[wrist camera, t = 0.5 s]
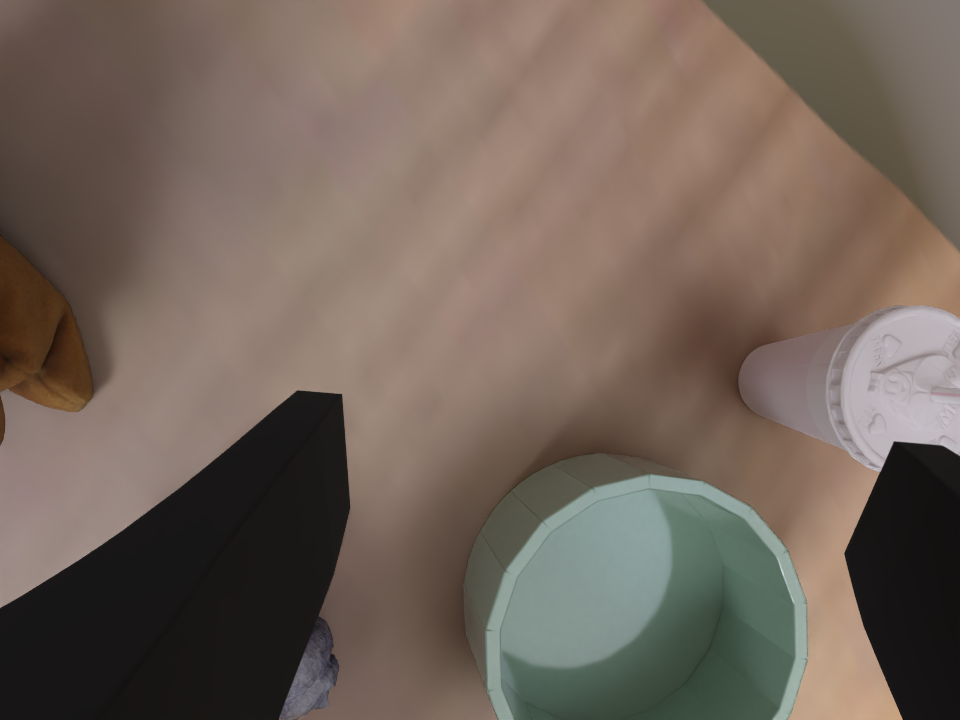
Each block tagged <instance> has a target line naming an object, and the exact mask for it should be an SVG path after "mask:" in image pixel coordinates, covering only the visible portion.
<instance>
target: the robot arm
mask: <svg viewBox="0 0 960 720" xmlns="http://www.w3.org/2000/svg"><path fill="white" fill-rule="evenodd" d="M349 511H350V497H349V483H348V469H347V456H346V442H345V428H344V414H343V401H342V394H333V393H321V392H309V391H298V390H297V391H296V392H295V393H294V394H293V395H291V396H290V397H289V398H288V399H287V400H285V401H284V402H283V403H282V404H280V405H279V406H278V407H277V408H276V409H274V410H273V411H272V412H271V413H270V414H268V415H267V416H266V417H265V418H264V419H263V420H261V421H260V422H259V423H258V424H257V425H256V426H254V427H253V428H252V429H251V430H250V431H249V432H247V433H246V434H245V435H244V436H243V437H241V438H240V439H239V440H238V441H237V442H236V443H234V444H233V445H232V446H231V447H230V448H228V449H227V450H226V451H225V452H224V453H222V454H221V455H220V456H219V457H218V458H216V459H215V460H214V461H213V462H211V463H210V464H209V465H208V466H206V467H205V468H204V469H203V470H202V471H200V472H199V473H198V474H197V475H195V476H194V477H193V478H192V479H190V480H189V481H188V482H187V483H186V484H184V485H183V486H182V487H181V488H179V489H178V490H177V491H175V492H174V493H173V494H171V495H170V496H169V497H167V498H166V499H164V500H163V501H162V502H160V503H159V504H158V505H156V506H155V507H154V508H152V509H151V510H150V511H148V512H147V513H146V514H144V515H143V516H142V517H140V518H139V519H138V520H136V521H135V522H133V523H132V524H131V525H129V526H128V527H127V528H125V529H124V530H123V531H121V532H120V533H119V534H117V535H116V536H114V537H113V538H111V539H110V540H108V541H107V542H105V543H104V544H103V545H101V546H100V547H98V548H97V549H95V550H94V551H92V552H91V553H89V554H88V555H86V556H85V557H83V558H82V559H80V560H79V561H77V562H75V563H74V564H72V565H71V566H69V567H67V568H66V569H64V570H63V571H61V572H59V573H58V574H56V575H55V576H53V577H51V578H50V579H48V580H47V581H45V582H43V583H42V584H40V585H39V586H37V587H35V588H34V589H32V590H31V591H29V592H27V593H26V594H24V595H22V596H21V597H19V598H17V599H16V600H14V601H12V602H10V603H9V604H7V605H5V606H3V607H1V608H0V720H279V717H280V714H281V712H282V709H283V707H284V704H285V701H286V699H287V696H288V693H289V691H290V688H291V686H292V683H293V680H294V678H295V675H296V673H297V670H298V667H299V665H300V662H301V660H302V657H303V654H304V652H305V649H306V647H307V644H308V641H309V639H310V636H311V634H312V631H313V628H314V626H315V623H316V620H317V618H318V615H319V613H320V610H321V607H322V605H323V602H324V599H325V597H326V594H327V591H328V589H329V586H330V583H331V580H332V578H333V575H334V571H335V568H336V564H337V560H338V556H339V552H340V548H341V544H342V540H343V536H344V532H345V528H346V523H347V519H348V515H349ZM844 554H845V558H846V562H847V566H848V570H849V574H850V578H851V582H852V586H853V590H854V594H855V598H856V601H857V604H858V608H859V611H860V615H861V618H862V622H863V625H864V628H865V630H866V633H867V635H868V638H869V640H870V643H871V645H872V648H873V650H874V653H875V655H876V657H877V660H878V662H879V665H880V667H881V669H882V672H883V674H884V677H885V679H886V681H887V684H888V686H889V688H890V691H891V693H892V695H893V698H894V700H895V702H896V705H897V707H898V709H899V712H900V714H901V716H902V719H903V720H960V456H959V455H958V454H956V453H954V452H953V451H951V450H950V449H948V448H946V447H945V446H943V445H932V444H920V443H909V442H897V441H894V442H893V445H892V447H891V449H890V451H889V454H888V456H887V458H886V460H885V463H884V465H883V467H882V469H881V472H880V474H879V476H878V478H877V481H876V483H875V485H874V487H873V490H872V492H871V494H870V497H869V499H868V501H867V503H866V506H865V508H864V510H863V512H862V515H861V517H860V519H859V521H858V524H857V526H856V528H855V530H854V533H853V535H852V537H851V539H850V542H849V544H848V546H847V548H846V551H845V553H844Z"/></svg>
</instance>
